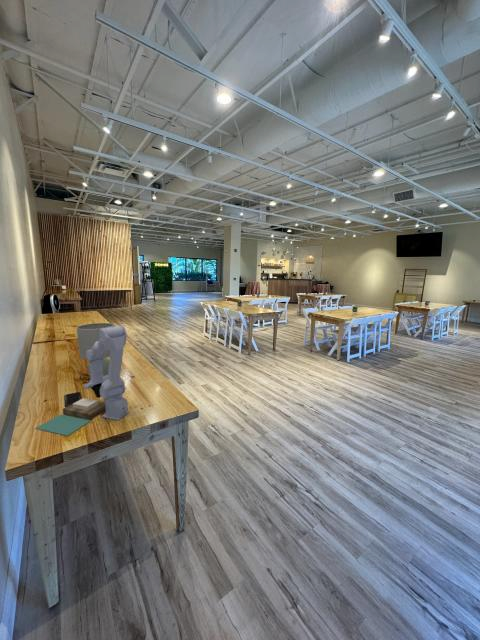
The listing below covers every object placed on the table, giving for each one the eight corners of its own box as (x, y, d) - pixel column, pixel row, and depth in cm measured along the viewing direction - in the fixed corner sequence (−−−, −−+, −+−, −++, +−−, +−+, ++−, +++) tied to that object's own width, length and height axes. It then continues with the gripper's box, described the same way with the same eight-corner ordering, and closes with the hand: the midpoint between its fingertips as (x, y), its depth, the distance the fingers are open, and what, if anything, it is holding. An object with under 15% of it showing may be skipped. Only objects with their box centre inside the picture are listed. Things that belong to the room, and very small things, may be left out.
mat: (91, 421, 122) (90, 420, 122) (67, 436, 111) (67, 435, 111) (60, 414, 127) (60, 414, 127) (35, 428, 116) (35, 428, 116)
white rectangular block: (97, 404, 131) (97, 400, 131) (87, 410, 125) (87, 406, 125) (83, 401, 134) (83, 398, 133) (73, 407, 128) (72, 403, 128)
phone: (64, 406, 134) (64, 394, 146) (64, 408, 134) (64, 396, 146) (82, 402, 138) (80, 391, 150) (82, 404, 138) (81, 393, 151)
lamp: (105, 372, 181) (101, 321, 175) (124, 378, 171) (121, 324, 165) (75, 382, 164) (69, 326, 158) (94, 390, 154) (89, 330, 148)
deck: (108, 408, 133) (107, 403, 133) (90, 420, 123) (89, 414, 122) (82, 404, 137) (82, 398, 137) (63, 414, 127) (62, 408, 127)
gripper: (101, 366, 143) (103, 390, 145) (78, 376, 129) (80, 402, 131) (112, 367, 141) (113, 391, 143) (89, 377, 127) (92, 404, 129)
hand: (98, 397), depth 137 cm, fingers closed
